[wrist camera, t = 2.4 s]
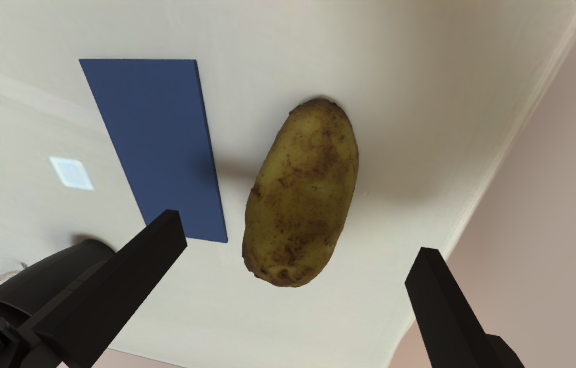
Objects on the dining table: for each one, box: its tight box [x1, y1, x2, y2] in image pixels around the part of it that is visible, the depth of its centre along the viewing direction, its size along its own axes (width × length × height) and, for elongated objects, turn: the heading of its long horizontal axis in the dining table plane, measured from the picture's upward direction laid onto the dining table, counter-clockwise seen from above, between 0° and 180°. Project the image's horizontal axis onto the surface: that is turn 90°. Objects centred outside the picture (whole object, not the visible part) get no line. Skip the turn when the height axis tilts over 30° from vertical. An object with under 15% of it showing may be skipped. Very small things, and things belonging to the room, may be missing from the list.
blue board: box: [79, 59, 228, 243], centre depth 21 cm, size 18×10×1 cm, turn 0°
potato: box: [242, 98, 359, 288], centre depth 16 cm, size 8×13×8 cm, turn 149°
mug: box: [0, 240, 115, 330], centre depth 28 cm, size 8×12×10 cm
